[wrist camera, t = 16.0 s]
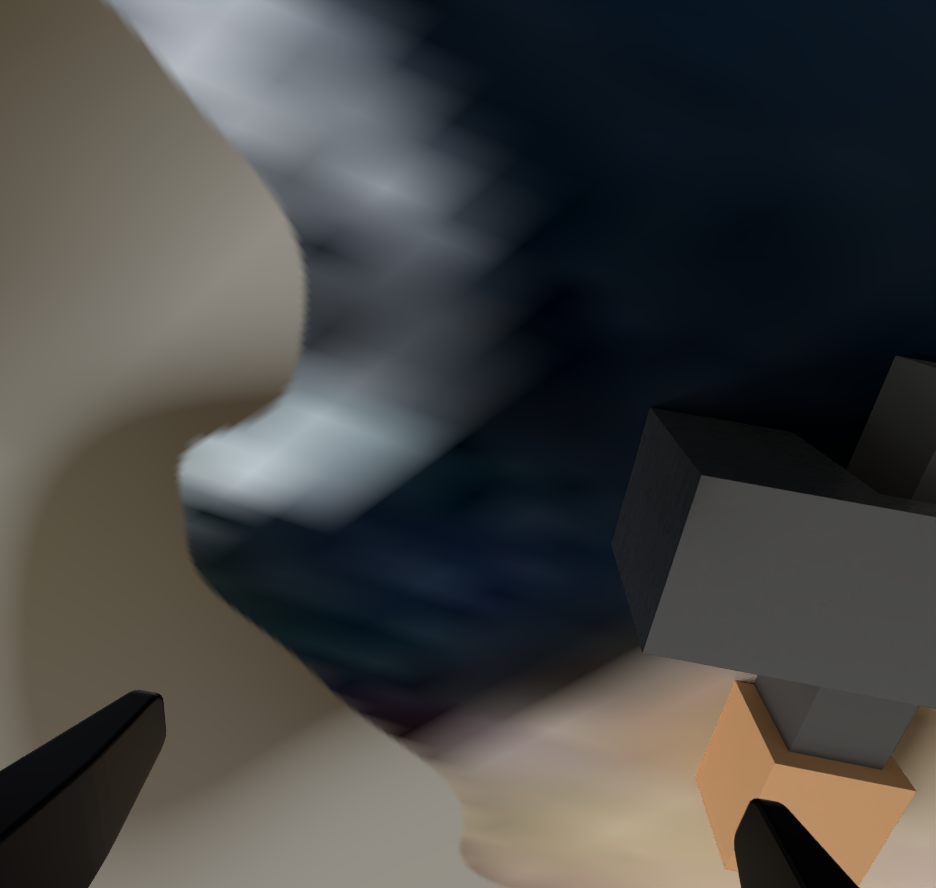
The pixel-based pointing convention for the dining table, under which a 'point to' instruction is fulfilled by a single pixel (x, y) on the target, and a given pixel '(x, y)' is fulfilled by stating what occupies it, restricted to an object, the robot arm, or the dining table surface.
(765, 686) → the plug
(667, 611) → the housing
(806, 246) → the dining table surface
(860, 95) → the dining table surface
